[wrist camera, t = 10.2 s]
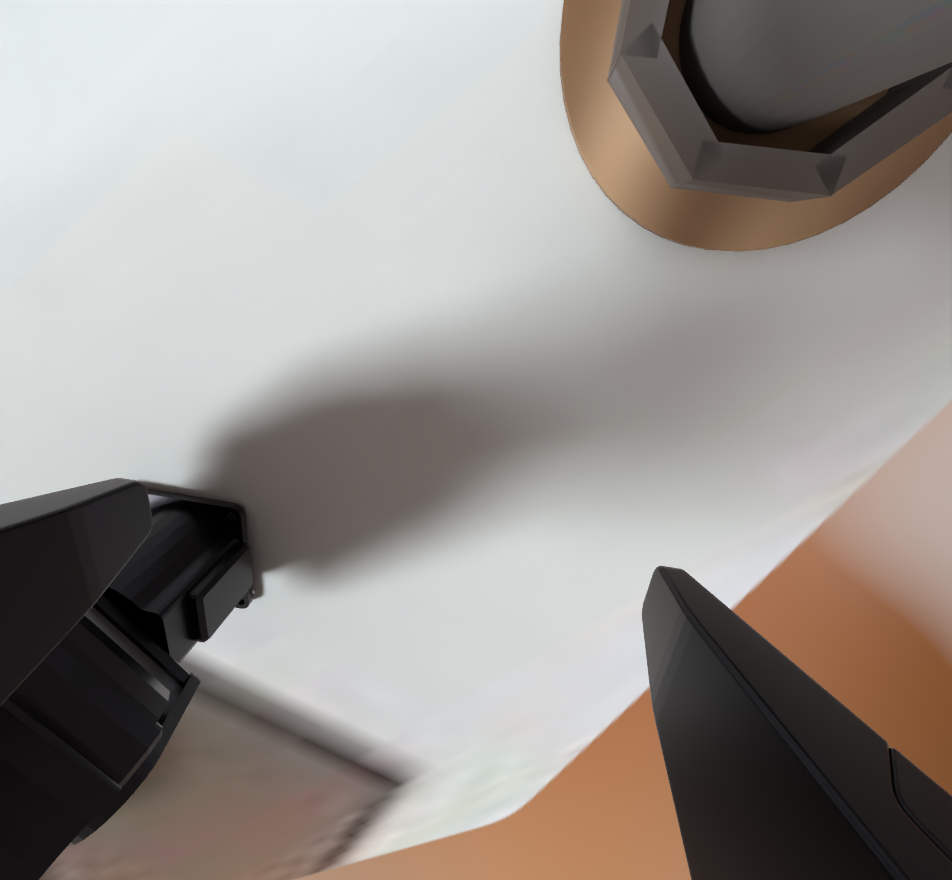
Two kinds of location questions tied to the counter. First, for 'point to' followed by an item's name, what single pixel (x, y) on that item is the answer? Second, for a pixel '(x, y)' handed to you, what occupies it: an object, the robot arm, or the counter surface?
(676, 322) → the counter surface
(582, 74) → the ring coaster
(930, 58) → the bottle
